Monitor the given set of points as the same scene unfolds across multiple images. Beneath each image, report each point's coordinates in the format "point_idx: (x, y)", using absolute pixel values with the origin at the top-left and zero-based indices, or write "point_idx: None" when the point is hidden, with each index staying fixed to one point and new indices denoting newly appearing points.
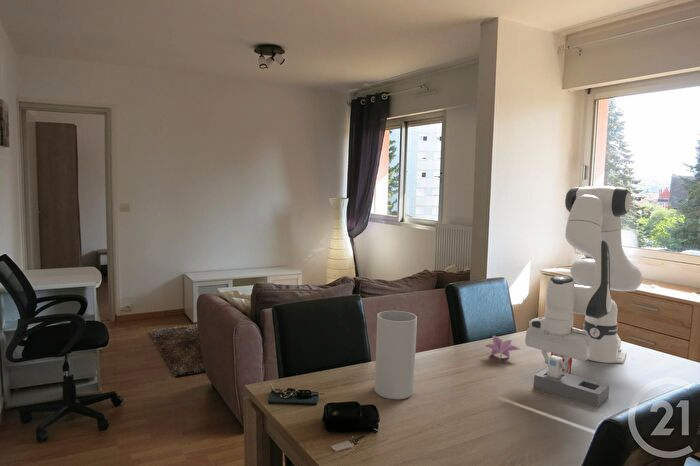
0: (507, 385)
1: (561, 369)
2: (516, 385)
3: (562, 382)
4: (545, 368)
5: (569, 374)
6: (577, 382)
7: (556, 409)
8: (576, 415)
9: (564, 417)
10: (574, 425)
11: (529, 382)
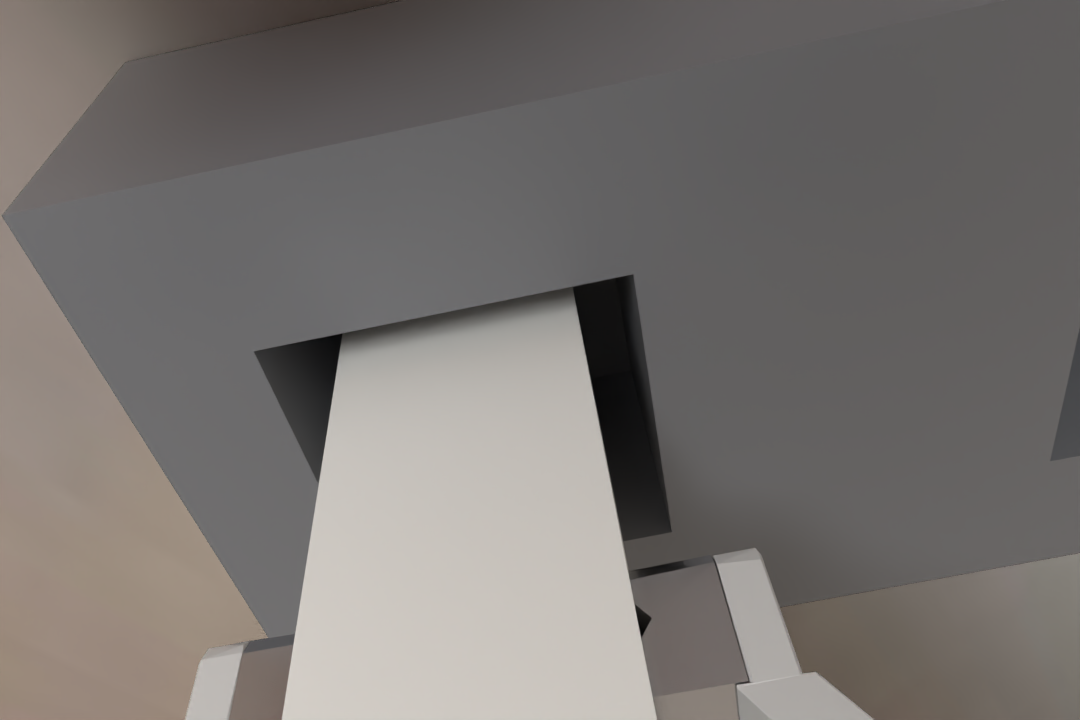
0: (100, 645)
1: (604, 458)
2: (135, 572)
3: (792, 579)
4: (72, 316)
5: (683, 121)
6: (1013, 374)
7: (829, 635)
8: (1037, 585)
9: (952, 680)
10: (1067, 707)
11: (86, 366)
